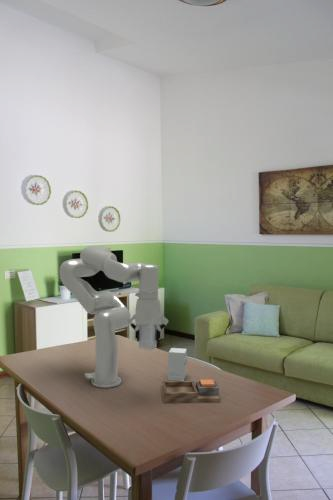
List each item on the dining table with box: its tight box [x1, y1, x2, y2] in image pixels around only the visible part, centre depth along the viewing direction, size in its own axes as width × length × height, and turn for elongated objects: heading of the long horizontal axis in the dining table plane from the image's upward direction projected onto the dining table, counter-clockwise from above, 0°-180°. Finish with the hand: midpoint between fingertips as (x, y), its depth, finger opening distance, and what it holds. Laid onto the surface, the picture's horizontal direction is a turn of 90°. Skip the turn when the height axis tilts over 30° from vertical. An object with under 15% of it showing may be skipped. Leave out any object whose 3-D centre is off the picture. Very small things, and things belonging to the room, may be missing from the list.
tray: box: [160, 380, 221, 404], centre depth 173 cm, size 22×14×4 cm, turn 94°
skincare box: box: [138, 320, 158, 351], centre depth 171 cm, size 6×4×12 cm
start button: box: [199, 379, 215, 387], centre depth 174 cm, size 5×5×2 cm
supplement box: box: [167, 347, 188, 381], centre depth 193 cm, size 7×7×13 cm
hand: (147, 340), depth 171 cm, fingers closed on skincare box, 7 cm apart
